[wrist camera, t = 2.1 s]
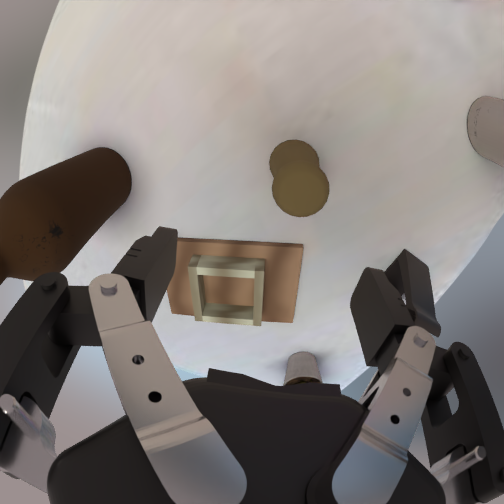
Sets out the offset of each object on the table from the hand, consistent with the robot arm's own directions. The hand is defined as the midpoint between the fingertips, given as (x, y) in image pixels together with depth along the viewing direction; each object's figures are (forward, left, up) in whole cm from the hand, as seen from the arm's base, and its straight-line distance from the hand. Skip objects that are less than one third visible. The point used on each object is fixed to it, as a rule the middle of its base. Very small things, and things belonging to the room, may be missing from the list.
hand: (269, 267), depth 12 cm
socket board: (+5, +20, -24) cm, 32 cm away
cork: (-3, +2, -25) cm, 25 cm away
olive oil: (+23, +4, -25) cm, 34 cm away
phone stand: (-21, +18, -25) cm, 37 cm away
